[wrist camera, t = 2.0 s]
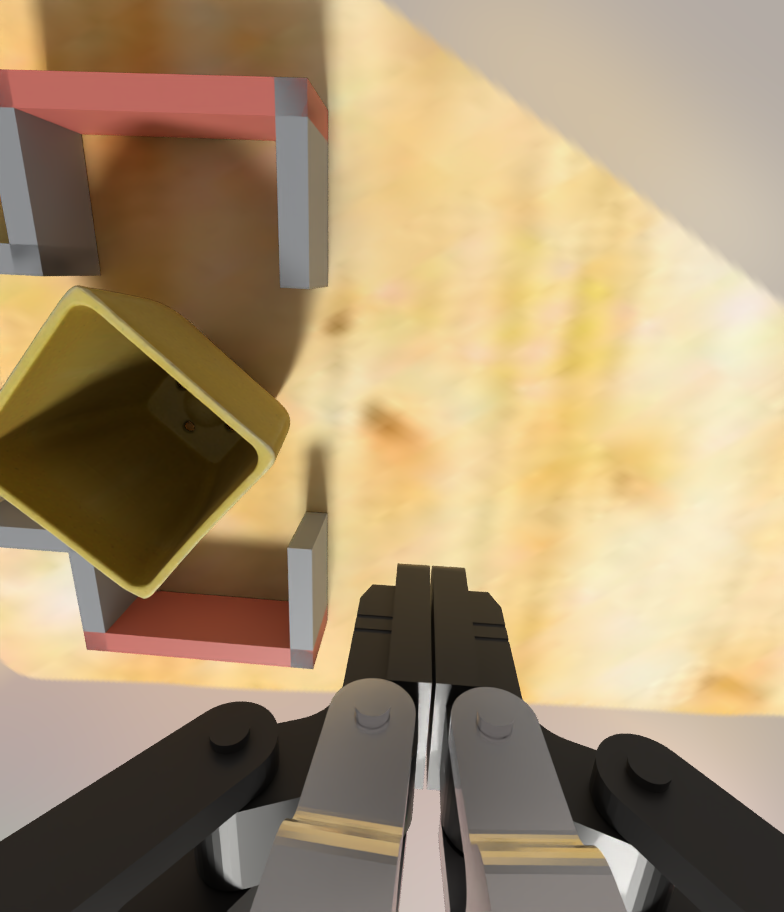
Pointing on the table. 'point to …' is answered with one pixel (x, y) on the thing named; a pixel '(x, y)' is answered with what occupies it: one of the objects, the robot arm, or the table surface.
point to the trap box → (75, 254)
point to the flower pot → (131, 434)
